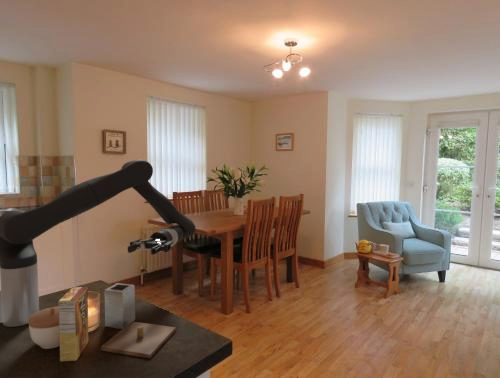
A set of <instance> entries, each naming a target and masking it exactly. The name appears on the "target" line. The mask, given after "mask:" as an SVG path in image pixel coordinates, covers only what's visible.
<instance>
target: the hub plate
mask: <svg viewBox="0 0 500 378" xmlns="http://www.w3.org/2000/svg"><path fill="white" fill-rule="evenodd" d="M176 329H177V328H176V327H175V326H167V325H160V324H152V323H146V322H138V321H132V322H131V323H130V324H129V325H127V326H126V327H125V328H124V329H120V331H118V332H117V333H116V334H115V335H113V336H112V337H111V338H110V339H109V340H108V341H105V342H104V343H103V344H102V345H101V346H100V351H103V352H109V353H115V354H121V355H126V356H134V357H140V358H144V359H145V358H146V359H151V358H152V357H153V356H154V355H155V354H156V352H158V350H160V349H161V347H162V346H163V345H164V344H165V343H166V342H167V341H168V340H169V339H170V338H171V336H173V334H174V333H175V332H176Z"/></svg>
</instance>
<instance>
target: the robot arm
mask: <svg viewBox="0 0 500 378" xmlns="http://www.w3.org/2000/svg"><path fill="white" fill-rule="evenodd" d="M153 173H154V169H153V166H152V164H151V163H150V162H149V161H147V160H144V159H134V160H130V161H128V162H125V163H124V164H123V165H122V167H121V168H120V169H119V170H116V171H114V172H111V173H108V174H104V175H100V176H97V177H94V178H91V179H87V180H85V181H82V182H80V183H78V184H76V185H73V186H71V187H70V188H67V189H66V190H65V191H64V190H63V192H62V193H60V194H59V195H58V196H56V197H55V198H54V199H53V200H50V201H49V202H48V203H45V204H43V205H40V206H37V207H35V208H33V209H29V210H26V211H22V210H9V211H7V212H5V213H3V214H1V215H0V323H1V324H2V325H3V326H4V327H8V328H9V327H12V328H13V327H20V326H25V325H29V324H28V319H29V318H30V316H31V315H33V314H34V313H36V312H38V311H40V300H39V299H40V293H39V274H38V273H39V272H38V270H39V269H38V254H37V251H36V249H35V247H34V240H35V239H37V238H38V237H40V236H41V235H43V234H44V233H46V232H47V231H49V230H51V229H53V228H54V227H56V226H58V225H60V224H62V223H63V222H66V221H69V220H71V219H73V218H75V217H77V216H79V215H81V214H83V213H85V212H88V211H90V210H92V209H94V208H96V207H97V206H100V205H101V204H104V203H106V202H107V201H109V200H111V199H113V198H114V197H115V196H117V195H119V194H120V193H122V192H124V191H126V190H129V189H131V188H132V189H133V190H134V191H136V192H137V193H138V194H139V195H140V196H141V197H142V198H143V199H144V200H145V201H146V202H147V203H148V204H149V205H150V206H151V207H152V208H153V209H154V210H155V212H156V213H157V214H158V216H159V217H160V218H161V219H162V221H164V223H165V224H167V225H172V226H169V227H166V228H163V229H160V230H158V231H155V232H153V233H152V234H151V235H150V237H148V238H146V239H142V238H138V239H137V238H136V239H135V240H132V241H129V246H127V253H129V254H132V253H134V252H135V251H137V250H138V251H147V250H148V251H150V254H151V255H153V256H154V255H156V254H158V253H162V252H164V253H167V252H168V253H169V251H171V250H172V249H174V245H176V244H178V243H180V242H181V241H183V240H184V239H187V238H189V237H191V236H193V235H195V233H196V229H197V228H196V225H195V223H194V221H192V219H190V218H189V217H187V216H186V215H184V214H183V213H181V212H180V211H179V210H178V208H177V207H176V206H175V204H174V203H173V202H172V201H171V200H170V199H169V198H168V197H167V196H166V195H164V194H163V193H161V192H160V191H159V190H157V188H156V187H154V186H153V185H152V184H151V183H150V182H149V180H151V178H152V176H153ZM174 224H175V225H174Z"/></svg>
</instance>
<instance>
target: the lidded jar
mask: <svg viewBox="0 0 500 378" xmlns="http://www.w3.org/2000/svg"><path fill="white" fill-rule="evenodd" d="M27 325H28V329H29V330H28V331H29V335H30V338H31V340H32V341H33V342H34V344H36V345H38V347H40V348H41V349H44V350H49V349H50V350H51V349H55V348H58V347H60V332H59V305H57V306H51V307H47V308H44V309H40V310H39V311H38V312H36V313H34V314H33V315H31V316H30V318H29V319H28V324H27Z"/></svg>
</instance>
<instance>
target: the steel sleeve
mask: <svg viewBox="0 0 500 378" xmlns="http://www.w3.org/2000/svg"><path fill="white" fill-rule="evenodd" d="M135 291H136V290H135V284H129V283H120V282H116V283H115V284H113V285H111V286H110V287H107V288H106V289H104V320H105V321H104V325H105V326H104V327H107V328H113V329H114V328H115V329H118V330H119V329H120V330H122V329H124V328H125V327H126V326H127V325H129V324H130V323H131V322H132V321H133V322H135V320H136V302H135V301H136V298H135V297H136V296H135V295H136V294H135V293H136V292H135Z"/></svg>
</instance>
